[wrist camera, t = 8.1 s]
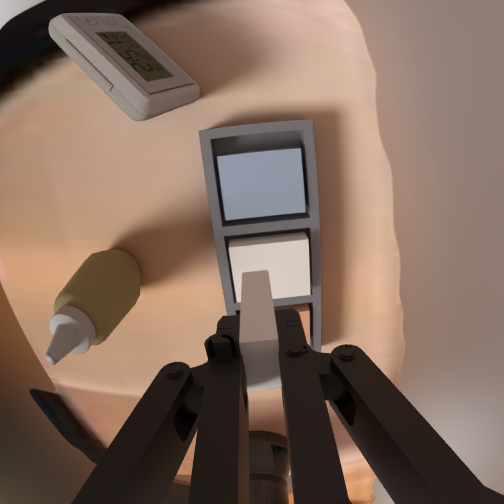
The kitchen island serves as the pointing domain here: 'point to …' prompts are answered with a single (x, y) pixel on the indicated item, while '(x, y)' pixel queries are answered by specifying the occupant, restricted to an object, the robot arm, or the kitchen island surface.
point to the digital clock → (124, 63)
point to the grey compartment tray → (308, 222)
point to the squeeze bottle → (93, 303)
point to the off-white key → (273, 262)
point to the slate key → (262, 183)
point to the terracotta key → (304, 316)
